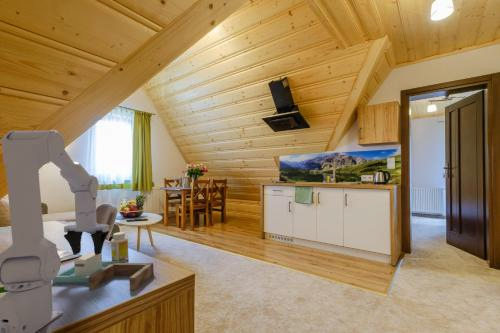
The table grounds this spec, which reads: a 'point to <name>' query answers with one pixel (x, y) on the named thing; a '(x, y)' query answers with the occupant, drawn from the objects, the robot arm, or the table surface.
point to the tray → (70, 277)
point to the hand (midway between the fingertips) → (87, 253)
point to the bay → (123, 274)
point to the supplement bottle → (119, 247)
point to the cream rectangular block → (88, 264)
